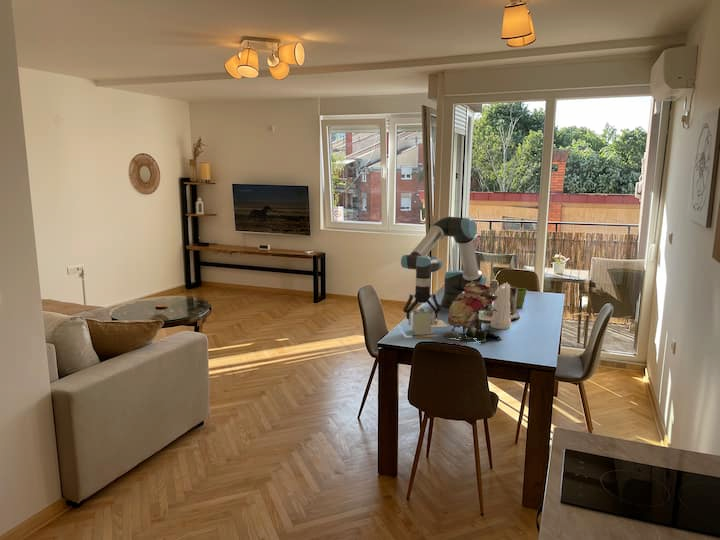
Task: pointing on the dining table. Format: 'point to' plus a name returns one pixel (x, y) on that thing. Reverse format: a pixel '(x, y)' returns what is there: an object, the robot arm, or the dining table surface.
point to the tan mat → (423, 336)
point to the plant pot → (520, 297)
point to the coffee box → (513, 298)
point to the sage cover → (421, 321)
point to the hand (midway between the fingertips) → (421, 324)
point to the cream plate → (438, 323)
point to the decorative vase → (502, 308)
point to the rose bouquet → (471, 312)
